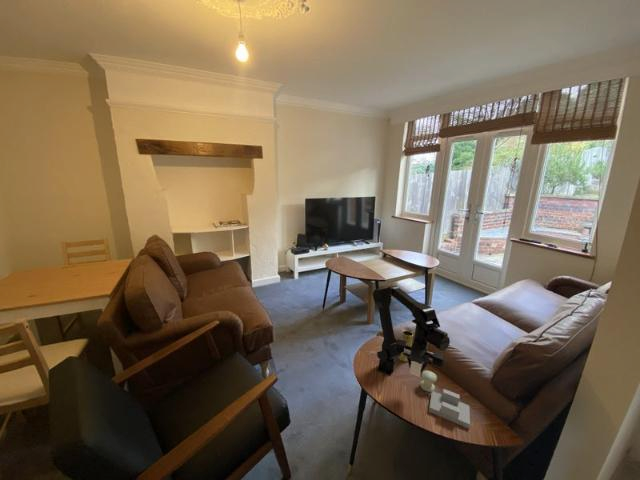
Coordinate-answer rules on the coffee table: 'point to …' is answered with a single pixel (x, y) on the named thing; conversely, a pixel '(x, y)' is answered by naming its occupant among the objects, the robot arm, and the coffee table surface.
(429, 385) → the spool
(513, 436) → the coffee table surface
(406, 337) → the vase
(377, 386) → the coffee table surface
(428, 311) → the robot arm
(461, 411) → the notch board
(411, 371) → the block
